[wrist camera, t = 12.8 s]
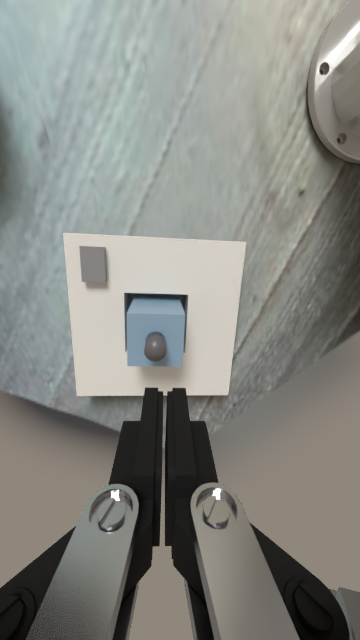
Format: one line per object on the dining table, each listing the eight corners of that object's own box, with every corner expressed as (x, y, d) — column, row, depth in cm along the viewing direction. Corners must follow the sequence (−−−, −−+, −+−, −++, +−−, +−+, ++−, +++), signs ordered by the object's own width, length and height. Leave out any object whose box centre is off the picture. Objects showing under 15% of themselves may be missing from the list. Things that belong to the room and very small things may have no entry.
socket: (236, 242, 25) (249, 241, 22) (221, 380, 30) (230, 399, 26) (74, 234, 24) (59, 232, 20) (85, 380, 29) (74, 400, 25)
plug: (178, 296, 26) (188, 322, 17) (176, 336, 27) (184, 379, 19) (135, 295, 26) (123, 321, 17) (135, 335, 27) (124, 379, 18)
